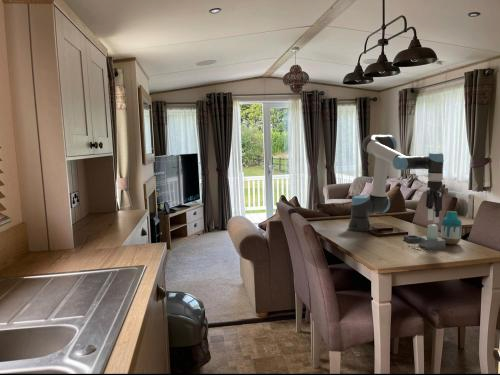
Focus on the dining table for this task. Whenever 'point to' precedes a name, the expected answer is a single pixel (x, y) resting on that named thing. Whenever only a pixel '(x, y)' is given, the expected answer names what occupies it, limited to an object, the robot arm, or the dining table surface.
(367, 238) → the dining table surface
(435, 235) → the plug
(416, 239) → the holster
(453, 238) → the vase
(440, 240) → the port panel
